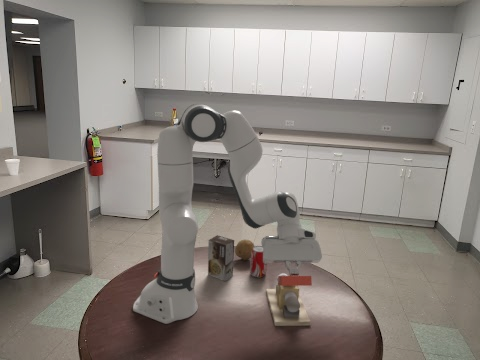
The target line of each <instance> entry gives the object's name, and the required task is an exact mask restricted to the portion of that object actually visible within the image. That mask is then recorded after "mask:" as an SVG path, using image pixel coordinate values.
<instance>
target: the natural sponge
mask: <svg viewBox="0 0 480 360" xmlns="http://www.w3.org/2000/svg"><path fill="white" fill-rule="evenodd" d="M255 246H256V245H255V244H254V242H253V241H251V240H250V239H242V240H239V241H238V243H236V246H235V247H234V255H235V256H237V257H238V258H240V259H242V260H243V261H249V260H251V251H252V250H253V247H255Z"/></svg>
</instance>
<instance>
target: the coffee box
mask: <svg viewBox="0 0 480 360" xmlns="http://www.w3.org/2000/svg"><path fill="white" fill-rule="evenodd" d="M207 243H208V249H207V250H208V252H207V253H208V258H207V262H208V263H207V275H208V276H210V277H212V278H216V279H218V280H220V281H224V282H226V281H227V280H230V278H232V277H233V275H234V260H235V259H234V255H235V240H234V239H232V238H228V237H224V236H222V235H218V234H217V235H215V236H213V237H211V238H210V239H208V242H207Z"/></svg>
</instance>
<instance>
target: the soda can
mask: <svg viewBox="0 0 480 360" xmlns="http://www.w3.org/2000/svg"><path fill="white" fill-rule="evenodd" d="M254 246H255V247H253V250H252V251H251V258H250V264H249V270H250V271H249V273H250V274H251V276H253V277H254V278H262V277H265V276H266V274H267V269H268V263H265V262H264V261H263V247H262V245H254Z"/></svg>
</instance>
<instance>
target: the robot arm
mask: <svg viewBox="0 0 480 360" xmlns="http://www.w3.org/2000/svg"><path fill="white" fill-rule="evenodd" d="M216 140H219V141H220V142H221V143H222V145H223V146H224V149H225V151H226V153H227V154H228V156H229V157H228V158H229V164H228V166H227V171H228V172H227V173H228V174H227V175H228V177H229V180H230V183H231V186H232V188H233V190H234V191H233V192H234V194H235V196H236V199H237V202H238V204H239V207H240V211H241V216H242V220H243V222H244V223H245V224H246V225H247V226H249V227H250V228H253V229H254V230H255V229H256V230H257V229H259V228H261V227H264V226H266V225H271V224H274V223H276V235H272V236H271V235H270V236H269V235H267V236H266V235H265V236H264V237H262V239H261V246H262V247H263V261H264V262H265V263H267V264H284V267H285V268H286V269H287V271H288V274H289V275H288V276H300V273H299V272H300V267H301V265H302V264H319V262H321V260H322V259H323V253H322V250H321V246H320V243H319V242H318V240H317V239H316V238H317V234H316V233H315V231H311V230H307V229H306V228H305V229H304V228H302V225H301V222H300V219H301V215H300V208H299V204H298V201H297V198H296V196H295V194H294V193H292V192H285V191H284V192H283V191H279V192H275V193H272V194H268V195H266V196H262V197H260V198H254V197H252V194H251V191H250V189H249V186H248V182H247V181H246V176H247V175H248V174H249V173H250V172H251V171H253V169H254V168H255V167H256V166H257V165H258V164H259V162H260V160H261V159H262V156H263V147H262V143H261V141H260V139H259V137H258V135H257V133H256V131H255V130H254V128H253V127H252V125H251V123H250V122H249V121H248V119H247V118H246V117H245V116H244V114H243V113H242V112H241V111H239V110H235V109H234V110H228V111H226V112H224V113H220V112H218V111H217V110H215V109H213V108H212V107H211V106H209V105H207V104H205V103H194V104H191V105H190V106H187V108H186V109H185V111H184V112H183V114H182V115H181V117H180V119H179V121H178V123H177V125H172V126H171V125H170V126H168V127H165V128H163V129H162V130H161V131H160V132H159V135H158V141H157V150H156V151H157V152H156V153H157V154H156V156H157V157H156V158H157V173H158V174H157V175H158V213H159V214H158V215H159V216H158V217H159V219H160V223H161V230H162V238H161V251H160V265H161V266H160V268H159V269H158V270H157V271H156V273H155V274H154V278H153V280H152V281H150V282H149V283H147V284H146V285H145V286H144V288H143V289H142V291H141V292H140V295H139V296H138V297H137V298H136V300H135V301H134V302H133V306H132V311H133V312H135V313H136V314H140V315H142V316H145V317H147V318H150V319H153V320H155V321H157V322H160V323H161V324H166V325H167V324H171V323H173V322H175V321H180V320H184V319H188V318H191V316H193V315H194V314H195V313H196V312H197V310H198V307H199V306H198V305H199V304H198V302H197V298H196V293H195V285H196V272H195V246H196V241H197V236H198V230H199V224H198V218H197V216H196V215H195V213H194V209H193V207H192V206H193V205H192V195H193V188H194V161H193V159H194V157H193V149H194V146H195V144H196V142H199V143H207V142H211V141H216ZM291 264H295V266H296V268H294V269H293V268H292V266H291Z"/></svg>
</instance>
